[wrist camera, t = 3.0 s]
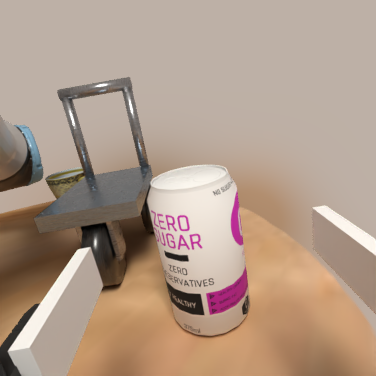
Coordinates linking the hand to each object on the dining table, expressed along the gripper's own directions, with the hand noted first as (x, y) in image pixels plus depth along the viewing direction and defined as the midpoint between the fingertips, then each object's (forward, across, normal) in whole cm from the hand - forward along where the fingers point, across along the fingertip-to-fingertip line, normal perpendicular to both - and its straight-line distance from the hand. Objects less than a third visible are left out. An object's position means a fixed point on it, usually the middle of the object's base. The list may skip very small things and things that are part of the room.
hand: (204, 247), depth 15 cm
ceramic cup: (+47, -27, -13) cm, 55 cm away
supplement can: (+9, 0, -13) cm, 16 cm away
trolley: (+24, -13, -13) cm, 30 cm away
